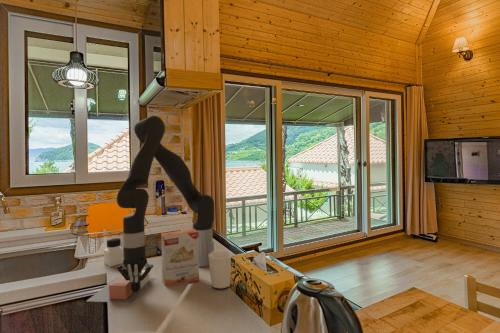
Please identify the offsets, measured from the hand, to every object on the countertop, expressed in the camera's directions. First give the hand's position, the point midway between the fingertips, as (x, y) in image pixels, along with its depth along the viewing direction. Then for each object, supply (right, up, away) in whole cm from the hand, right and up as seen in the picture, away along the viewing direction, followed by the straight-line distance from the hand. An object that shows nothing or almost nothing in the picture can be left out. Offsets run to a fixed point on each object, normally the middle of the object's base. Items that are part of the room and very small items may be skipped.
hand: (136, 291), depth 105 cm
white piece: (-7, -3, +6) cm, 10 cm away
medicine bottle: (-25, -2, +37) cm, 44 cm away
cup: (+30, -2, +10) cm, 32 cm away
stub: (-5, -2, +1) cm, 6 cm away
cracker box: (+13, -3, +14) cm, 19 cm away
